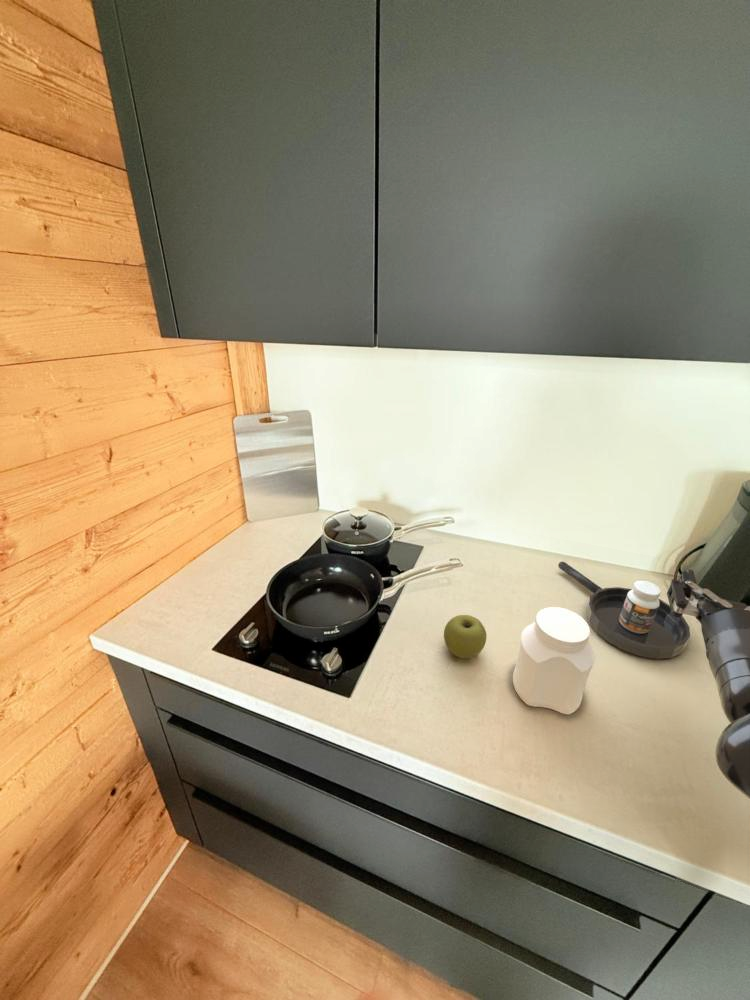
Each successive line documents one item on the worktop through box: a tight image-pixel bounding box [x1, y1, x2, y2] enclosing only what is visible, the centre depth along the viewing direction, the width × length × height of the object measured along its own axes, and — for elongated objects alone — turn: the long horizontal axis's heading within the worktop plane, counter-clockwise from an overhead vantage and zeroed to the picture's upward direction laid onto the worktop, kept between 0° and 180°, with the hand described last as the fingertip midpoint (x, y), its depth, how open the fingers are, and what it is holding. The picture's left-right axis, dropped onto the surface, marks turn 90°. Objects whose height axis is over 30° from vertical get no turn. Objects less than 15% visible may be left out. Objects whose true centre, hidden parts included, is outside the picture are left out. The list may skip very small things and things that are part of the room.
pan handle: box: [557, 561, 603, 594], centre depth 101 cm, size 2×13×2 cm, turn 22°
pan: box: [585, 586, 691, 660], centre depth 88 cm, size 18×18×3 cm
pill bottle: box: [619, 580, 662, 634], centre depth 87 cm, size 6×6×10 cm
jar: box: [512, 606, 596, 716], centre depth 72 cm, size 12×10×15 cm
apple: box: [443, 614, 487, 659], centre depth 82 cm, size 8×8×7 cm
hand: (721, 582), depth 64 cm, fingers open, 8 cm apart
